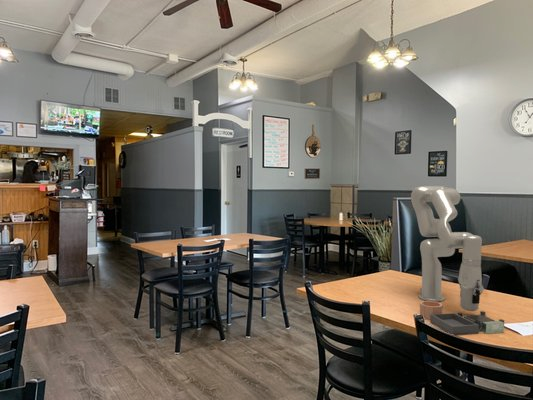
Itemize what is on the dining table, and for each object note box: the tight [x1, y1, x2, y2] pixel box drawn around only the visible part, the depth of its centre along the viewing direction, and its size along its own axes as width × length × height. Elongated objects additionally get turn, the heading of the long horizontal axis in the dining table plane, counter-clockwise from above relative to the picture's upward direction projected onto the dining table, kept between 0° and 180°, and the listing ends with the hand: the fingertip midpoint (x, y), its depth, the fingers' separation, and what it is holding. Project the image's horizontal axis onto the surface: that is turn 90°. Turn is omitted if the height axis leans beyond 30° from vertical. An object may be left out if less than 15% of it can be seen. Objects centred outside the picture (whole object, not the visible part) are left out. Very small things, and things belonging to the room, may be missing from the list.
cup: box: [419, 300, 444, 321], centre depth 179 cm, size 9×9×6 cm
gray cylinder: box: [459, 283, 480, 312], centre depth 180 cm, size 8×8×12 cm
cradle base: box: [457, 310, 505, 335], centre depth 166 cm, size 15×12×4 cm
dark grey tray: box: [429, 312, 480, 336], centre depth 166 cm, size 16×12×4 cm
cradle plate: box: [463, 314, 496, 328], centre depth 168 cm, size 9×9×2 cm
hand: (469, 300), depth 180 cm, fingers closed on gray cylinder, 7 cm apart
